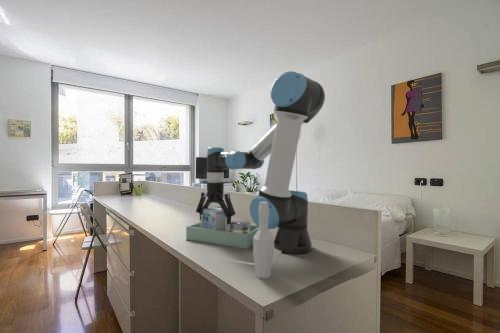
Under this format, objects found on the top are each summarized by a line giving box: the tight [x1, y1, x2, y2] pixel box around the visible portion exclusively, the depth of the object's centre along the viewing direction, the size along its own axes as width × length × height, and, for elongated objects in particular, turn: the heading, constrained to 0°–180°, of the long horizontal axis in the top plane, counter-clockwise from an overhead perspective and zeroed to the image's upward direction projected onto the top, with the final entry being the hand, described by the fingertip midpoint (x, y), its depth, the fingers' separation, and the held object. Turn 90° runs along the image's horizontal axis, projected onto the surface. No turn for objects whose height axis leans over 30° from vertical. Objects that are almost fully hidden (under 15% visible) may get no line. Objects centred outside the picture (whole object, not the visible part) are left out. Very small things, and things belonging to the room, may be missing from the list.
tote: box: [185, 221, 259, 249], centre depth 113 cm, size 30×16×6 cm, turn 65°
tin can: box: [231, 219, 251, 234], centre depth 109 cm, size 8×8×8 cm
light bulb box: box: [203, 206, 226, 231], centre depth 115 cm, size 11×7×11 cm, turn 42°
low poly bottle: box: [252, 202, 275, 279], centre depth 77 cm, size 6×6×22 cm
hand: (215, 229), depth 115 cm, fingers closed on light bulb box, 12 cm apart
